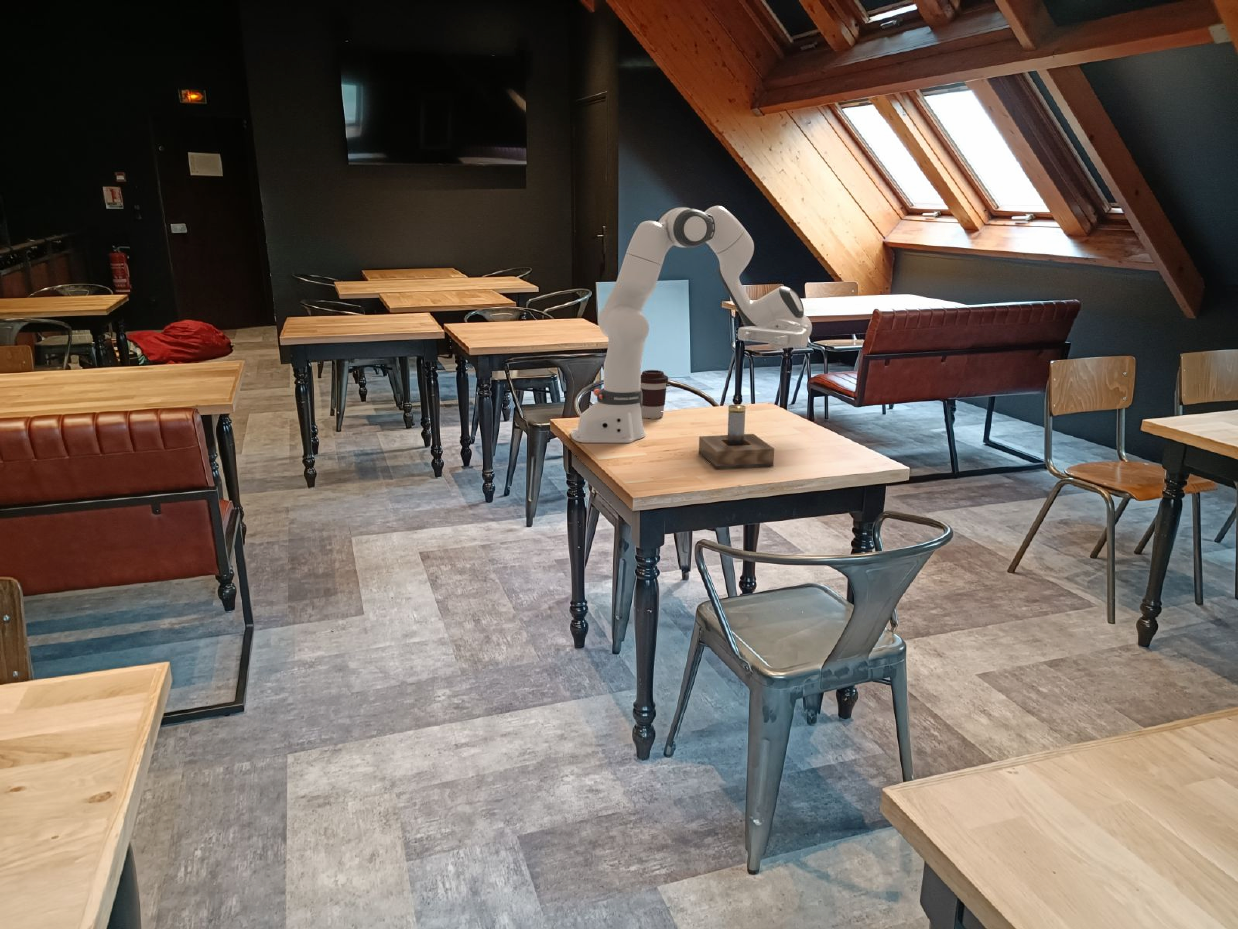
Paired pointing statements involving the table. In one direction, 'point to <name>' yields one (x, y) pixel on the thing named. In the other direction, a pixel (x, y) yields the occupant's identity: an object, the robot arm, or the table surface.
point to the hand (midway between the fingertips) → (760, 338)
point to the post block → (736, 452)
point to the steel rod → (736, 425)
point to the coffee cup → (653, 393)
